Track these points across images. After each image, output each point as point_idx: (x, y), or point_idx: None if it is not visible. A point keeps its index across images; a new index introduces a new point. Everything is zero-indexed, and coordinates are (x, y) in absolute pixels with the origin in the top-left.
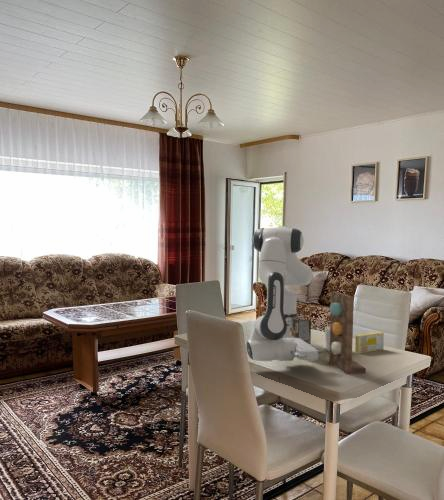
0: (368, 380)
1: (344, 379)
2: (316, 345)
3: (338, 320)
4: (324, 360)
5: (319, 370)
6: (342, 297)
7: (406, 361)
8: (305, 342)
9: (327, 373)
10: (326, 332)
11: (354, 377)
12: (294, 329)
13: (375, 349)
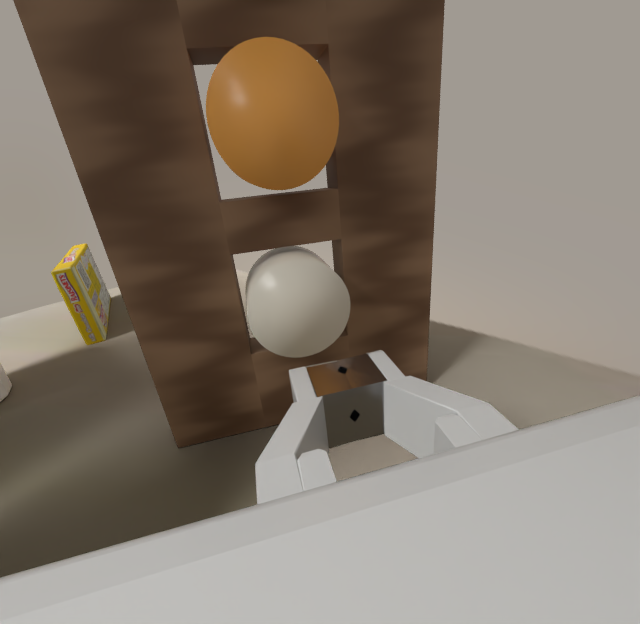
0: (477, 335)
1: (542, 403)
2: (304, 384)
3: (244, 34)
4: (139, 476)
5: None
6: None
7: (237, 278)
8: (236, 536)
9: None
10: None
11: (467, 367)
12: None
13: (108, 304)
